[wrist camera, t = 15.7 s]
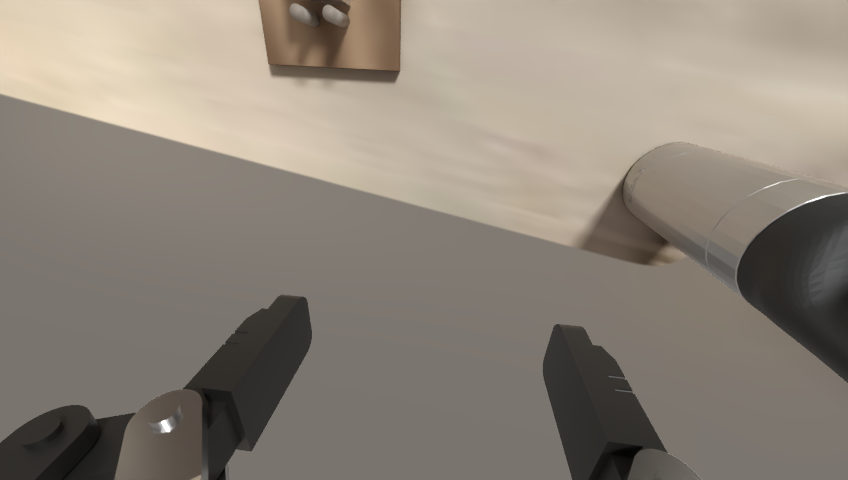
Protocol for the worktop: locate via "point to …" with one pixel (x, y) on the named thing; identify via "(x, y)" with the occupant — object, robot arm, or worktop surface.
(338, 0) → the block
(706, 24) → the worktop surface
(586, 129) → the worktop surface
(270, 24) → the pin tray
